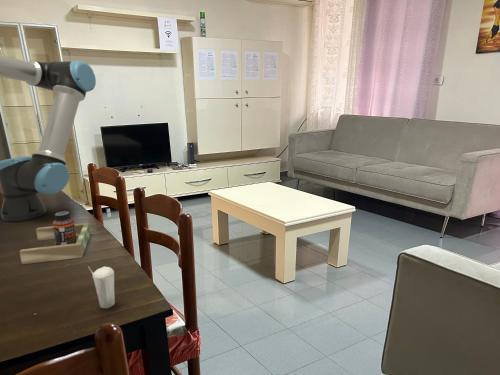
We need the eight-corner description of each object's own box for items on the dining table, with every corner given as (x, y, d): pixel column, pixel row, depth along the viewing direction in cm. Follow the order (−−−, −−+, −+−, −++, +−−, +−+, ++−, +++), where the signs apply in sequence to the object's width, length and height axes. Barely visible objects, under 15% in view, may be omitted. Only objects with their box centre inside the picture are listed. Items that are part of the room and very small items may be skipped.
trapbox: (39, 239, 122) (37, 227, 121) (90, 233, 126) (89, 222, 125) (21, 264, 105) (19, 251, 103) (82, 257, 109) (80, 244, 108)
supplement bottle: (69, 251, 113) (63, 216, 110) (52, 250, 114) (46, 215, 111) (81, 243, 118) (76, 210, 115) (65, 242, 119) (59, 209, 116)
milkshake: (96, 299, 87) (91, 261, 84) (120, 298, 87) (115, 260, 84) (90, 311, 82) (84, 271, 80) (114, 309, 83) (109, 270, 80)
